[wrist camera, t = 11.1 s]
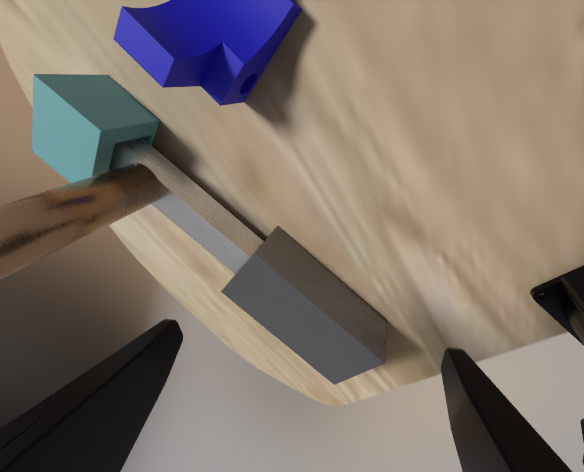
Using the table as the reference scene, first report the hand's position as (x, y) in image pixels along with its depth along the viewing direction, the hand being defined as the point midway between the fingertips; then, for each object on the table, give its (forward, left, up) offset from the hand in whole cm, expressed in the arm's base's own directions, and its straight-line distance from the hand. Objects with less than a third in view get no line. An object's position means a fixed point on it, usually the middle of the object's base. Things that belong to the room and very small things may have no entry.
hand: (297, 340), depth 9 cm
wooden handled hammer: (+9, +8, -11) cm, 16 cm away
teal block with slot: (+17, +8, -12) cm, 23 cm away
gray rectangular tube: (-3, +8, -12) cm, 15 cm away
